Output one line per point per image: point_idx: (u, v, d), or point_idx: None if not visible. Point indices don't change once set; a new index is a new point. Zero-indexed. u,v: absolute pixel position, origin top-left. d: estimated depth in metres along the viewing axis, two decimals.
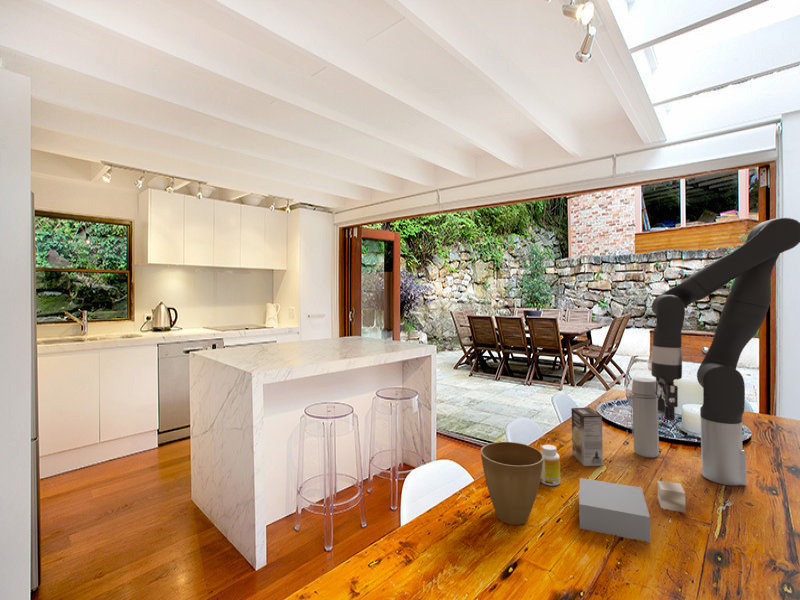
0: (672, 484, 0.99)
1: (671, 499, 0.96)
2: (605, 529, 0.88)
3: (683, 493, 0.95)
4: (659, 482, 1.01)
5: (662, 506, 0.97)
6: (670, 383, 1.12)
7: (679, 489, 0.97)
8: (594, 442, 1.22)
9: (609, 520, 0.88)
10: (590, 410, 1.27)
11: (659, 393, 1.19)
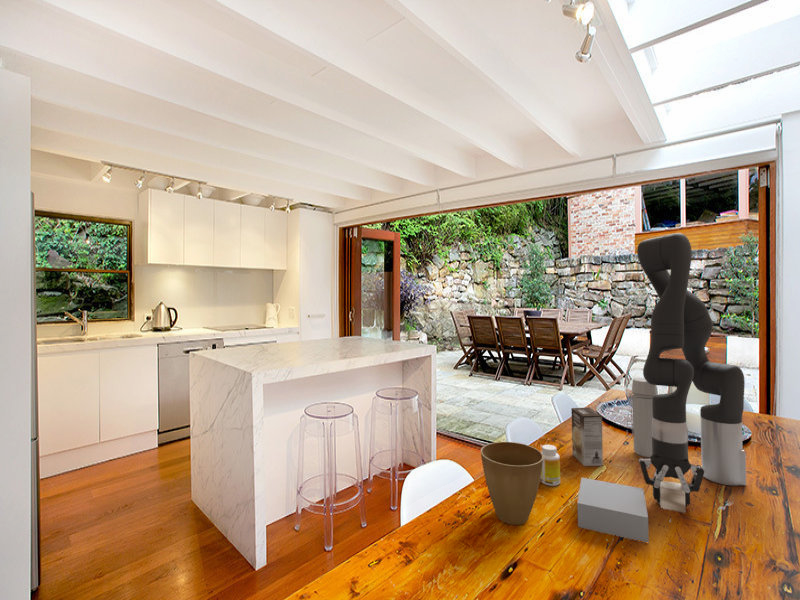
0: (672, 484, 0.99)
1: (671, 499, 0.96)
2: (603, 528, 0.88)
3: (683, 493, 0.95)
4: None
5: (662, 506, 0.97)
6: None
7: (679, 488, 0.97)
8: (594, 442, 1.22)
9: (607, 520, 0.88)
10: (590, 410, 1.27)
11: None
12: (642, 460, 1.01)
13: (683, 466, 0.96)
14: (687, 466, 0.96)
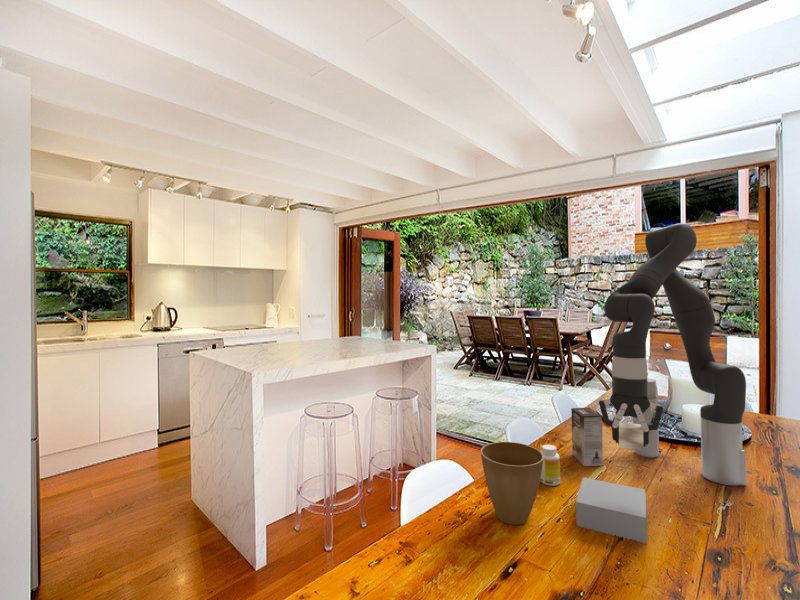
0: (632, 424, 0.96)
1: (629, 438, 0.93)
2: (601, 528, 0.89)
3: (641, 431, 0.92)
4: (619, 423, 0.97)
5: (620, 445, 0.94)
6: None
7: (638, 428, 0.94)
8: (594, 442, 1.22)
9: (606, 519, 0.88)
10: (590, 410, 1.27)
11: (620, 418, 0.95)
12: (601, 400, 0.97)
13: (642, 404, 0.93)
14: (646, 404, 0.93)
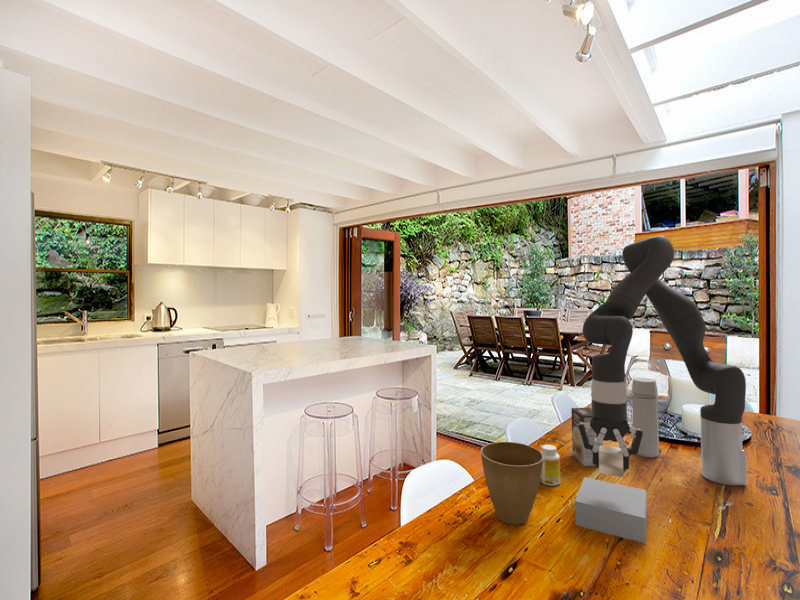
0: (612, 448, 0.95)
1: (609, 463, 0.91)
2: (600, 527, 0.89)
3: (621, 456, 0.90)
4: None
5: (600, 470, 0.92)
6: None
7: (618, 452, 0.92)
8: None
9: (605, 519, 0.88)
10: (590, 410, 1.27)
11: (600, 443, 0.93)
12: (581, 424, 0.96)
13: (622, 428, 0.91)
14: (626, 428, 0.91)
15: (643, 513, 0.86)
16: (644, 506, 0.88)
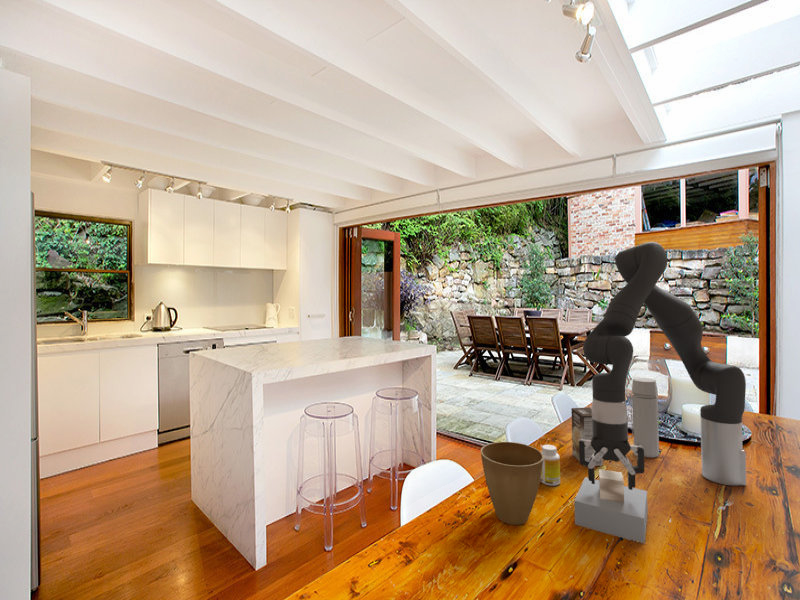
0: (613, 473, 0.95)
1: (610, 489, 0.91)
2: (599, 527, 0.89)
3: (622, 482, 0.90)
4: (600, 471, 0.96)
5: (601, 496, 0.92)
6: (627, 443, 0.92)
7: (619, 477, 0.92)
8: None
9: (604, 519, 0.88)
10: (590, 410, 1.27)
11: None
12: (582, 440, 0.96)
13: (623, 449, 0.91)
14: (626, 448, 0.91)
15: (642, 513, 0.86)
16: (644, 507, 0.88)
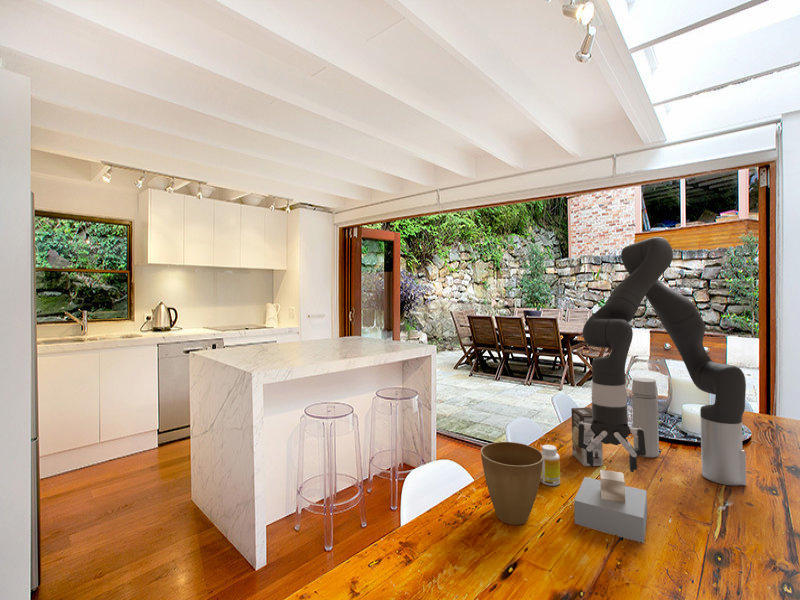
0: (614, 473, 0.94)
1: (611, 489, 0.91)
2: (599, 527, 0.89)
3: (623, 482, 0.90)
4: (601, 471, 0.96)
5: (602, 496, 0.92)
6: None
7: (620, 478, 0.92)
8: None
9: (603, 518, 0.89)
10: (590, 410, 1.27)
11: None
12: (582, 423, 0.95)
13: (623, 432, 0.91)
14: (626, 431, 0.91)
15: (642, 513, 0.86)
16: (643, 506, 0.88)
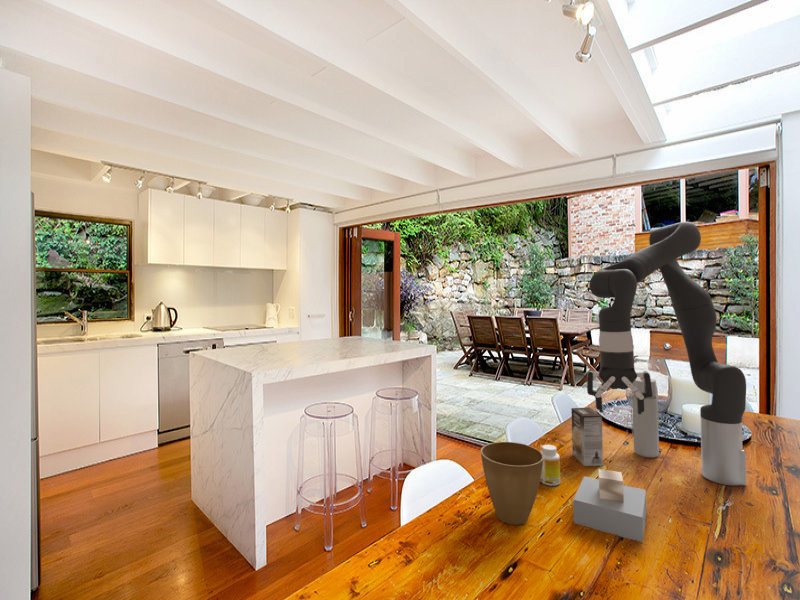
0: (612, 472, 0.95)
1: (609, 488, 0.92)
2: (598, 526, 0.89)
3: (621, 481, 0.91)
4: (600, 470, 0.96)
5: (600, 495, 0.92)
6: None
7: (618, 477, 0.92)
8: (594, 442, 1.22)
9: (602, 518, 0.89)
10: (590, 410, 1.27)
11: None
12: (591, 371, 1.00)
13: (630, 376, 0.96)
14: (633, 375, 0.96)
15: (641, 512, 0.86)
16: (642, 505, 0.89)
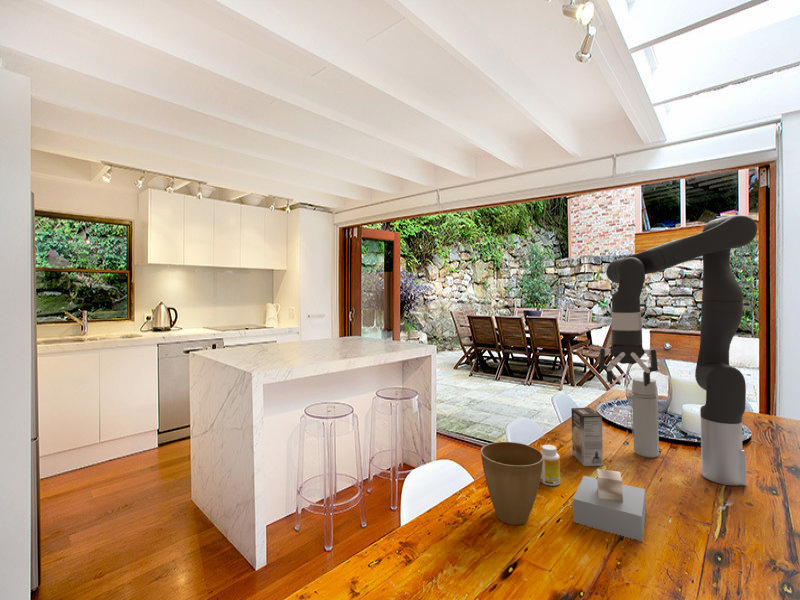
0: (611, 472, 0.95)
1: (608, 488, 0.92)
2: (598, 525, 0.90)
3: (620, 481, 0.91)
4: (598, 470, 0.96)
5: (599, 495, 0.92)
6: None
7: (617, 477, 0.92)
8: (594, 442, 1.22)
9: (602, 517, 0.89)
10: (590, 410, 1.27)
11: (615, 364, 1.11)
12: (603, 348, 1.13)
13: (638, 353, 1.09)
14: (641, 351, 1.08)
15: (640, 511, 0.86)
16: (642, 505, 0.89)
